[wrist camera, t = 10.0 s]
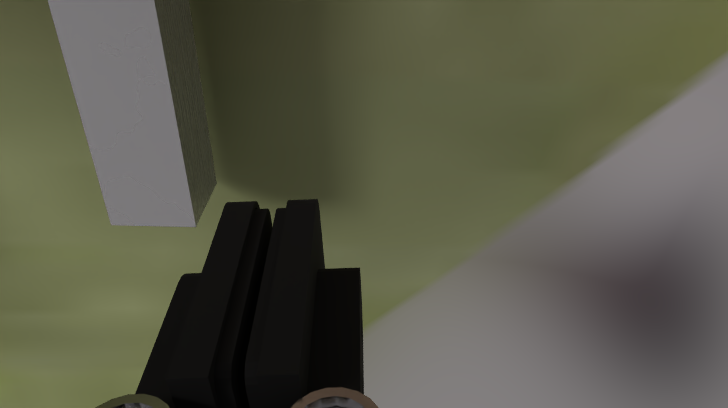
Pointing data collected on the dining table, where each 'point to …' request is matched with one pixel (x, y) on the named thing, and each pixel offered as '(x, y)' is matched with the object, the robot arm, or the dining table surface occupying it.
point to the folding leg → (140, 106)
